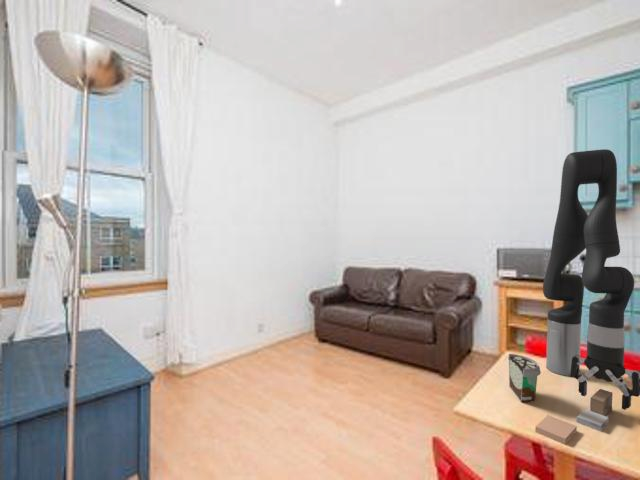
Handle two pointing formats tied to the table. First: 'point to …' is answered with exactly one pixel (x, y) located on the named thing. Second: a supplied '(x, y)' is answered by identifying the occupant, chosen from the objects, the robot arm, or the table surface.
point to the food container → (523, 377)
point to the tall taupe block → (597, 411)
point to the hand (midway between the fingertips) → (603, 401)
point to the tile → (556, 429)
